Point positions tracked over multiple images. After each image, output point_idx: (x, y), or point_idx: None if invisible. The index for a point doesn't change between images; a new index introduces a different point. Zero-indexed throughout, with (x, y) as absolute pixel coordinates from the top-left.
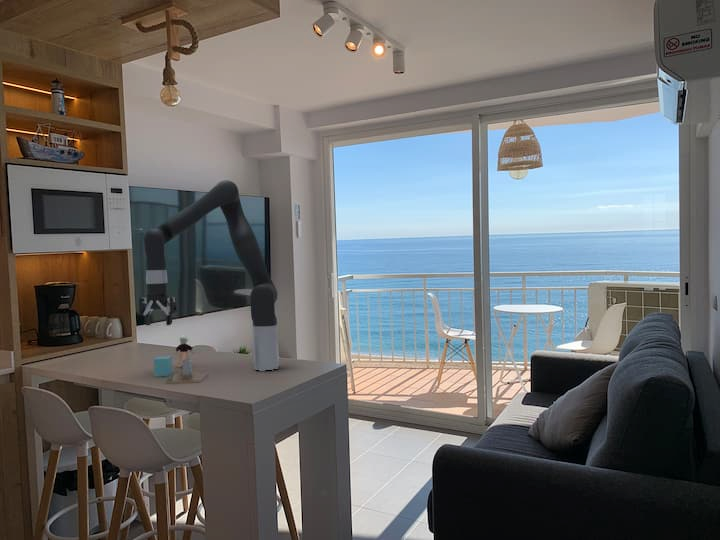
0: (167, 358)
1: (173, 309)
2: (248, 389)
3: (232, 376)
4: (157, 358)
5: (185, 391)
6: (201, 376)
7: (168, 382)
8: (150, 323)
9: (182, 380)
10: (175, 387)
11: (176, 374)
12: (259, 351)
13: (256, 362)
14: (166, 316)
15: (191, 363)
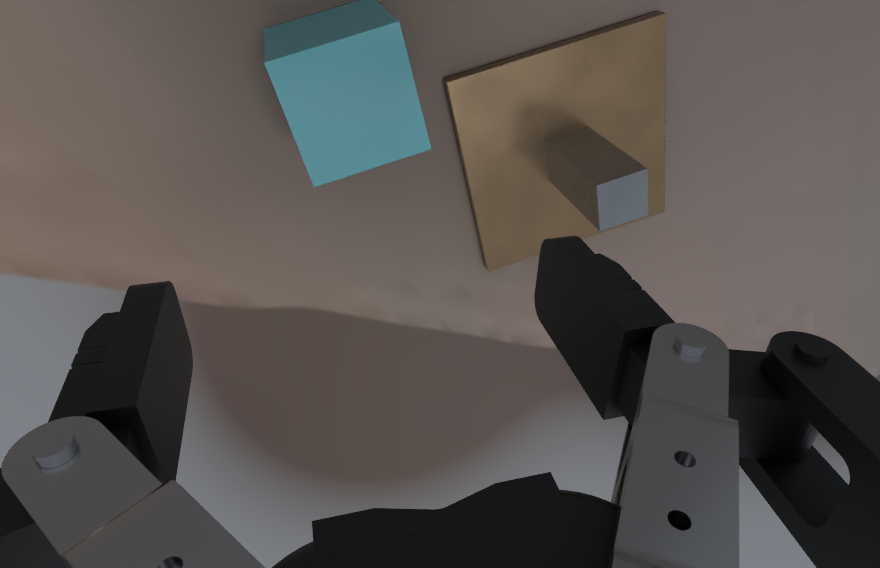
0: (418, 135)
1: (829, 485)
2: (874, 260)
3: (812, 38)
4: (324, 150)
5: None
6: (650, 130)
7: (501, 262)
8: (167, 292)
9: (572, 234)
10: None
11: (467, 105)
12: None
13: None
14: (602, 405)
15: (629, 156)
